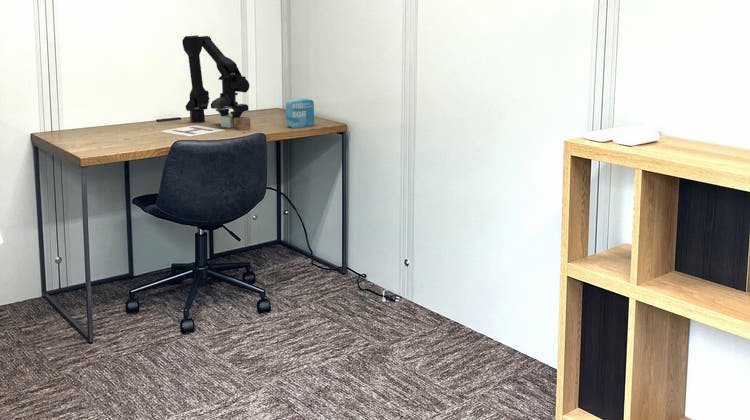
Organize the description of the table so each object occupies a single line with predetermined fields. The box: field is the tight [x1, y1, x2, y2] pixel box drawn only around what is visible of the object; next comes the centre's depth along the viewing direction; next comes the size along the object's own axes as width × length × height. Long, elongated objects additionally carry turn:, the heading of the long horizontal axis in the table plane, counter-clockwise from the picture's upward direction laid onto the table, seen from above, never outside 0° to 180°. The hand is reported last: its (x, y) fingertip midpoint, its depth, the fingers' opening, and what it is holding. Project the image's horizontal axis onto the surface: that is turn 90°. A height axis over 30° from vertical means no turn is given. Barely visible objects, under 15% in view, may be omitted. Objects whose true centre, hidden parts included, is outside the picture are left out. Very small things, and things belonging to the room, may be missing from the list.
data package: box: [285, 98, 315, 129], centre depth 412 cm, size 12×4×12 cm, turn 123°
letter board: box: [161, 124, 225, 137], centre depth 396 cm, size 20×20×1 cm
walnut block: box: [233, 116, 251, 134], centre depth 399 cm, size 5×5×6 cm
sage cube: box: [220, 114, 234, 129], centre depth 407 cm, size 6×6×6 cm
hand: (230, 125), depth 407 cm, fingers closed on sage cube, 5 cm apart
